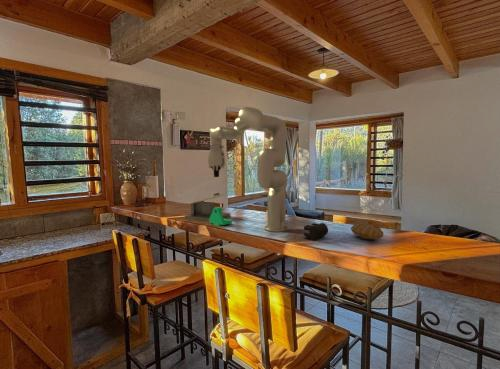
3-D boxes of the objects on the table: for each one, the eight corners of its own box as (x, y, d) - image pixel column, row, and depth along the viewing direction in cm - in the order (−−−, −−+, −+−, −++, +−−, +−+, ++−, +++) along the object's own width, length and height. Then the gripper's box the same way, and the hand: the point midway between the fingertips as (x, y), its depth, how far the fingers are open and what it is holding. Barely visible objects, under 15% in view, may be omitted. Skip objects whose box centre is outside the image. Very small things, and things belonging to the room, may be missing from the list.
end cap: (316, 242, 124) (317, 227, 124) (303, 239, 129) (303, 224, 129) (328, 238, 131) (328, 223, 131) (315, 235, 136) (315, 221, 136)
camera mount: (232, 224, 162) (232, 207, 161) (222, 226, 156) (222, 208, 156) (218, 221, 170) (218, 205, 169) (209, 223, 164) (208, 206, 164)
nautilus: (362, 232, 144) (393, 239, 133) (343, 237, 129) (376, 245, 118) (364, 217, 143) (395, 222, 133) (345, 220, 128) (378, 227, 118)
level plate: (224, 195, 184) (224, 191, 185) (213, 197, 172) (212, 193, 172) (203, 200, 192) (203, 197, 192) (191, 203, 179) (190, 199, 179)
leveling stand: (230, 216, 187) (230, 201, 187) (214, 221, 169) (213, 205, 169) (202, 213, 197) (202, 200, 196) (184, 219, 179) (184, 203, 178)
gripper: (229, 147, 177) (229, 176, 178) (209, 148, 184) (209, 176, 185) (223, 147, 170) (223, 177, 172) (202, 148, 177) (203, 177, 178)
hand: (216, 176), depth 178 cm, fingers closed
